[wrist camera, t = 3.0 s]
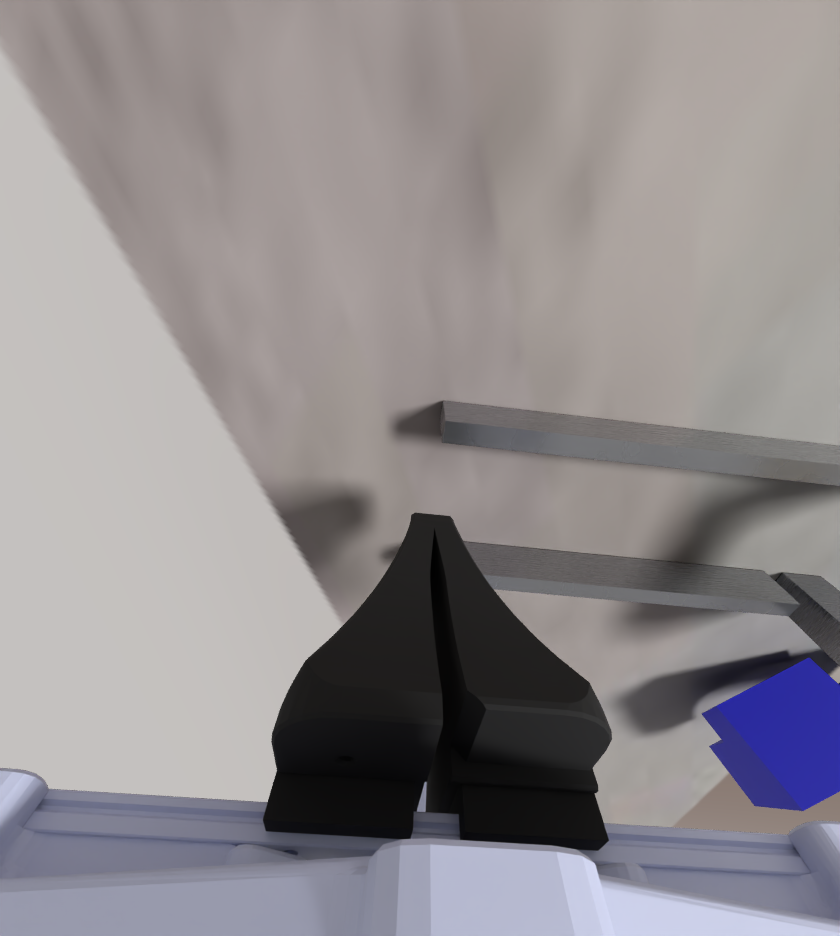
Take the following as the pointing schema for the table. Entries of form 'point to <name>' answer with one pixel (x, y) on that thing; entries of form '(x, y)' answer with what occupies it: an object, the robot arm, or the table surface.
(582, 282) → the table surface
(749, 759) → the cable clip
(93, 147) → the table surface
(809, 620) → the bracket
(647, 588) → the guide channel
